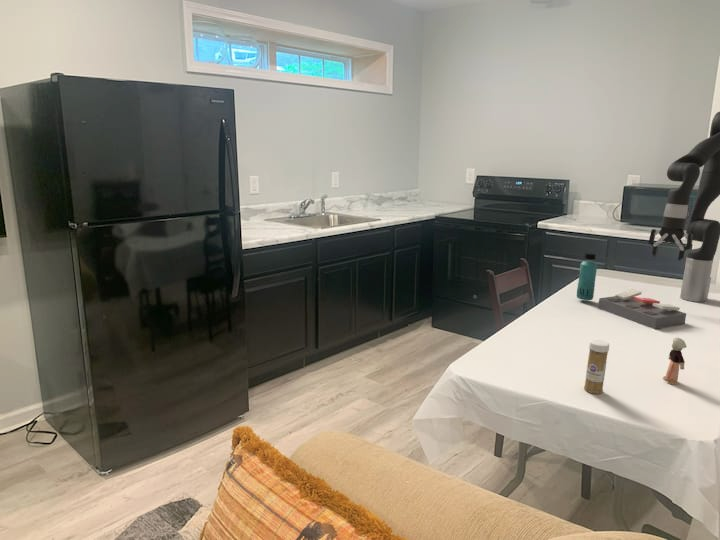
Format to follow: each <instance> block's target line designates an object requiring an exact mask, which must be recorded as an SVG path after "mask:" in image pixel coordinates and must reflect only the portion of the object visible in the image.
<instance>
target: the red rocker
mask: <svg viewBox="0 0 720 540" xmlns="http://www.w3.org/2000/svg"><path fill="white" fill-rule="evenodd" d="M634 300H637V301H640V302H643V303H646V304H649V305H651V304H652V303H658V304H661V303H660V302H661V301H659V300H658V299H657V300H656V299H653V298H650V297H640V296H635V297H634Z"/></svg>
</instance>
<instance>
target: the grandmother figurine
mask: <svg viewBox="0 0 720 540" xmlns="http://www.w3.org/2000/svg"><path fill="white" fill-rule="evenodd" d="M687 347H688V346H687V343H686V342H685V340H684V339H682V338H681V337H673V339H672V344H671V348H672V349H671V350H670V351H669V354H668V355H669V356H668V360H669V361H670V362H669V364H668V367H667V369H666V372H665V376H663V377H662V378H663V380H665V381H667V383H668V384H669V385H671V384H672V385H671V386H677V385H679V384H680V382H679V381H678V379H679V373H680V370H685V363H686V361H685V359H684V356H683V353H682V350H683V349H686V348H687Z"/></svg>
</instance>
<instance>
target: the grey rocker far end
mask: <svg viewBox="0 0 720 540" xmlns="http://www.w3.org/2000/svg"><path fill="white" fill-rule="evenodd" d="M652 306H655V307H658V308H661V309H664V310H667V311H671V310H677V311H680V309H681V307H679V306H675V305H672V304H668V303H667V304H666V303H659V304H658V303H653V305H652Z"/></svg>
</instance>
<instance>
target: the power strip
mask: <svg viewBox="0 0 720 540" xmlns="http://www.w3.org/2000/svg"><path fill="white" fill-rule="evenodd" d="M598 299H599V300H598V308H597V309H599V310H601V311H604V310H605V311H604V312H608V313H610V314H612V313H613V314H612V315H615V316H617V317H621V318H623V319H626V320H629V321H631V322H635V323H637V324H640V325H642V326H645V327H648V328H650V329H653V330H659V329H665V328H670V327H671V328H672V327H675V326H681V325H685V324H686V318H687V312H682V311H680V310H671V311H667V310H664V309H661V308H658V307H655V306H652V305H653V303H652V304H651V305H649V304H646V303H643V302H640V301H637V300H634V298H633V299H627V300H621V299H618V298H615V295H614V296H613V295H612V296H608V297H607V296H606V297H600V298H598Z"/></svg>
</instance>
